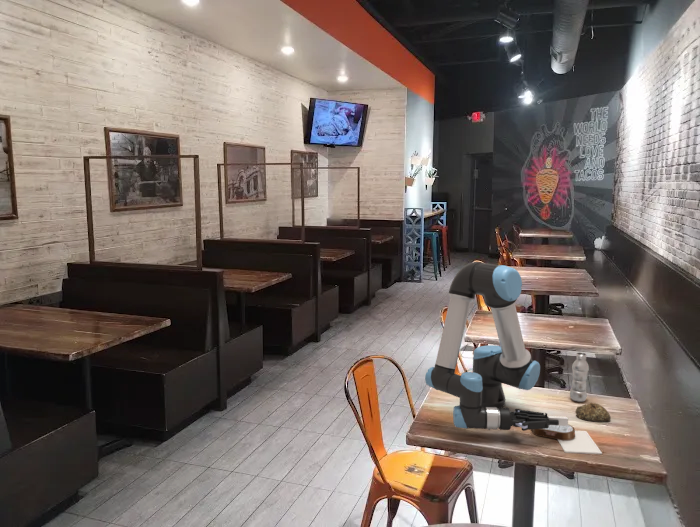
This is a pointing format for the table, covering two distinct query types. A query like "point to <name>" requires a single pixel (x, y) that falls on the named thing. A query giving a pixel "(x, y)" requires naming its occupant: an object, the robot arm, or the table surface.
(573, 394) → the plastic bottle
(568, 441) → the rubber mat
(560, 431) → the tin
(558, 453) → the table surface
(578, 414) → the mossy rock
